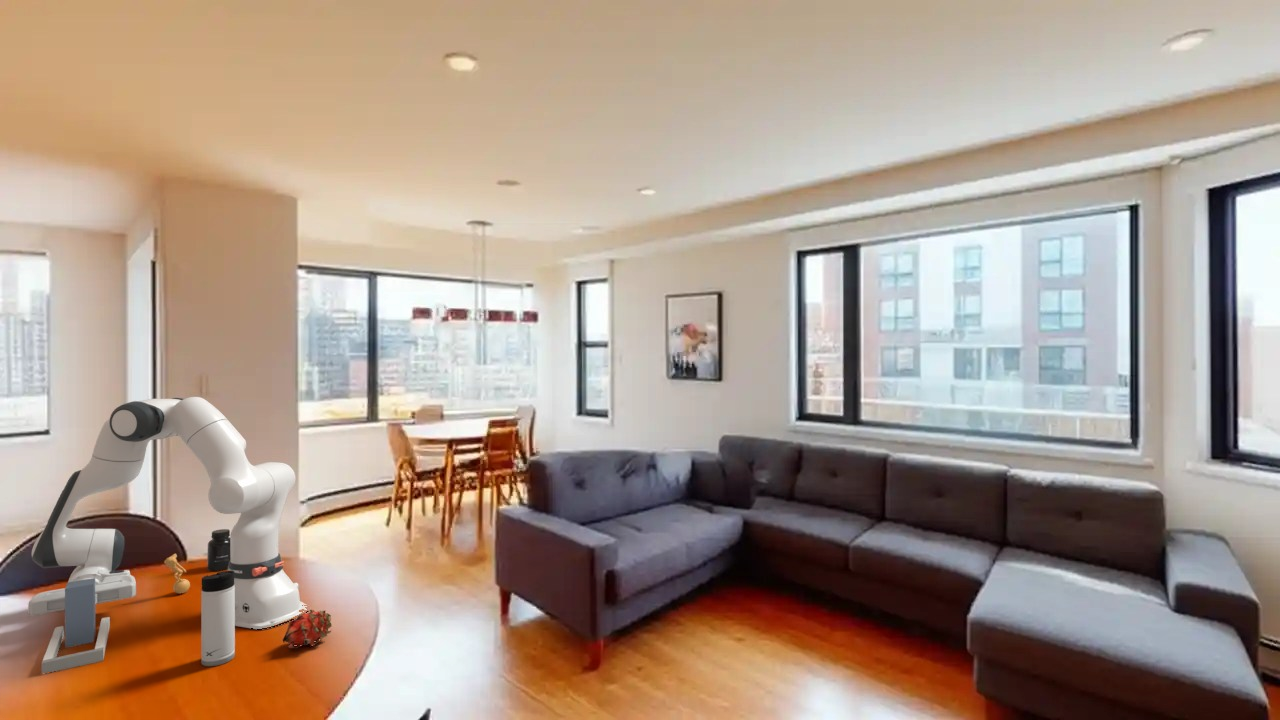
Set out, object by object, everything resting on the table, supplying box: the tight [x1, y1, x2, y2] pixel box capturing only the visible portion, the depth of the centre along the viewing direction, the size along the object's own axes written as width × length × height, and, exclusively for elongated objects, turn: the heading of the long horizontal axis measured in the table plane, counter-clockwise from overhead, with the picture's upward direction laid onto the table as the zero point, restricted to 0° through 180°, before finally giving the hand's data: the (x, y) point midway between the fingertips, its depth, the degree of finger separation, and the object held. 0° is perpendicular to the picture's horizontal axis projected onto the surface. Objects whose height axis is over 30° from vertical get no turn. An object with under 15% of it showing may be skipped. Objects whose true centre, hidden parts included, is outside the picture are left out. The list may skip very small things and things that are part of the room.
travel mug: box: [200, 570, 236, 667], centre depth 139 cm, size 6×7×20 cm
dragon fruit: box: [282, 608, 332, 649], centre depth 147 cm, size 8×8×12 cm
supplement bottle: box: [206, 528, 231, 572], centre depth 198 cm, size 7×7×12 cm
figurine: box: [163, 553, 191, 595], centre depth 176 cm, size 8×6×12 cm
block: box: [64, 578, 96, 649], centre depth 148 cm, size 5×5×14 cm
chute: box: [41, 616, 111, 675], centre depth 144 cm, size 22×10×2 cm, turn 38°
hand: (82, 605), depth 150 cm, fingers closed
